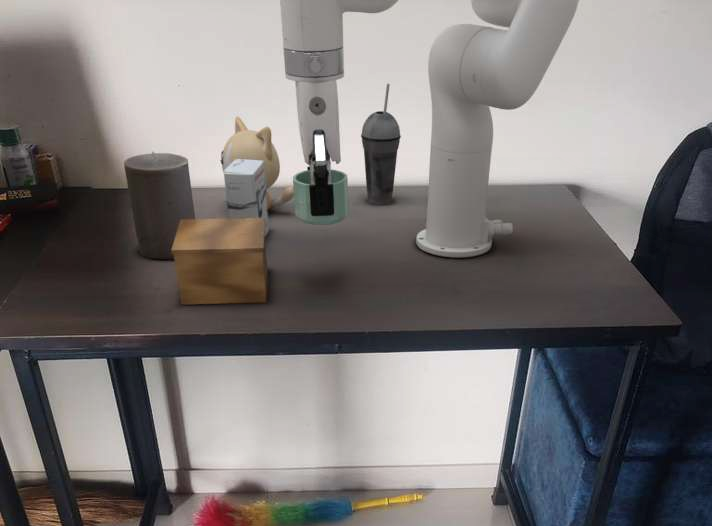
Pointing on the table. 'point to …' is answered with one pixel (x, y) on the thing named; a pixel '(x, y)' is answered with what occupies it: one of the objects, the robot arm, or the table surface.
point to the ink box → (246, 190)
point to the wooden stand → (221, 260)
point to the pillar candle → (158, 200)
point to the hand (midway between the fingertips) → (321, 204)
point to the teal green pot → (303, 198)
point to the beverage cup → (380, 154)
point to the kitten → (256, 156)
